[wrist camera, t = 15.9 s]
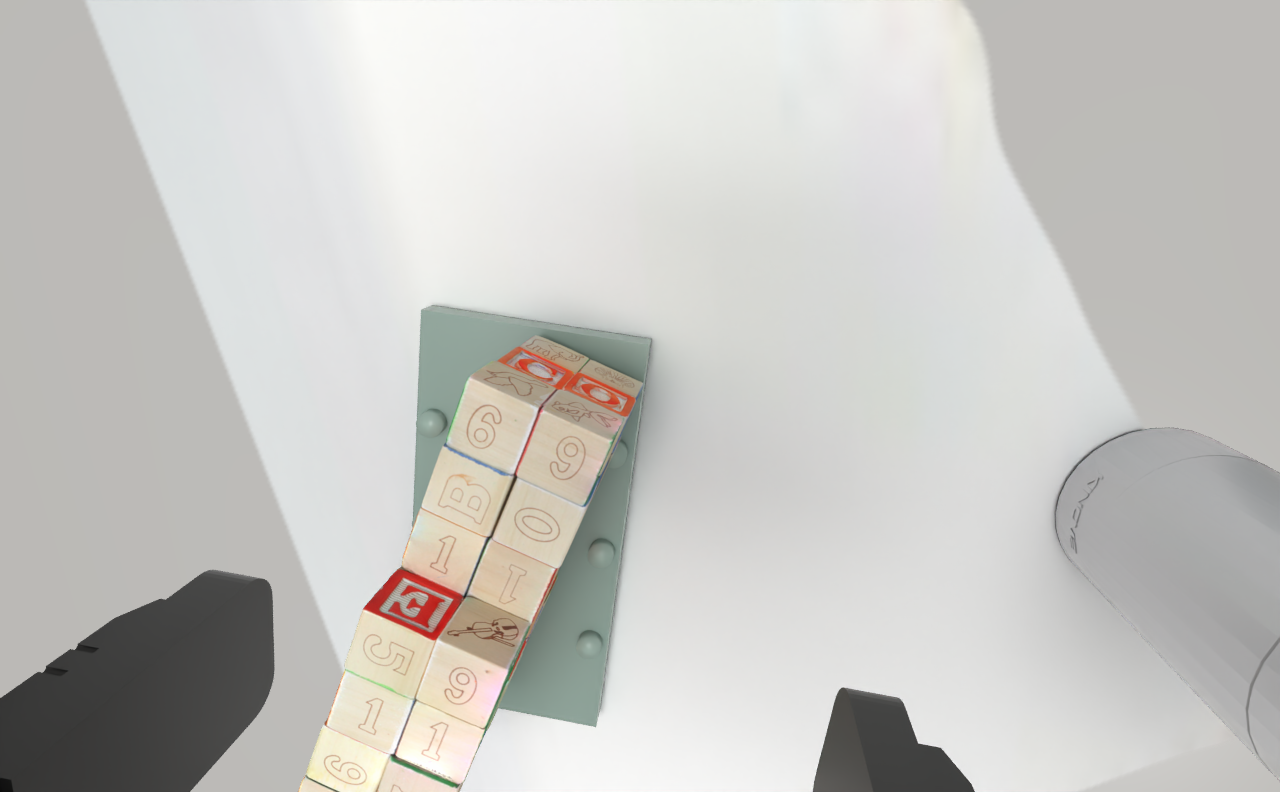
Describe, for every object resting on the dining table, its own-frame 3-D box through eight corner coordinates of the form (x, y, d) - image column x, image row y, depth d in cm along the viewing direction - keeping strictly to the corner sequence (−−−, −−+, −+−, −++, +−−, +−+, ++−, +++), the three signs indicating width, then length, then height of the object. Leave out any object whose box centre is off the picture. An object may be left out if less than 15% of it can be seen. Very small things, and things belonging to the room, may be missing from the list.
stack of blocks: (534, 329, 35) (436, 394, 23) (647, 381, 35) (606, 471, 23) (407, 652, 41) (279, 831, 30) (503, 696, 41) (413, 893, 30)
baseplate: (651, 338, 37) (647, 348, 35) (600, 709, 44) (593, 736, 42) (432, 305, 38) (414, 312, 35) (416, 674, 45) (400, 699, 42)
